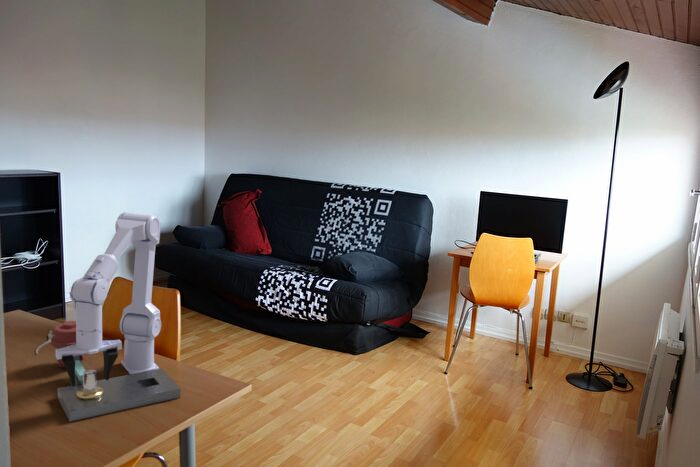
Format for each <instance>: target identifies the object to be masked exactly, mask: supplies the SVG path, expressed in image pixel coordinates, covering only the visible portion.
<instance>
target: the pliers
mask: <svg viewBox="0 0 700 467" xmlns="http://www.w3.org/2000/svg"><path fill="white" fill-rule="evenodd" d="M53 336H54V332H53V331H52V330H51V329H50V330H49V332H48V333H47V337H48V339H47V340H46V341H44V342H43V343H42V344H40V345H39V346H37V348H36V349H35V351H34V352H35V355H36V356H39V350H40V349H41V348H43V347H45V346H47V345H49V344H51V338H52V337H53Z"/></svg>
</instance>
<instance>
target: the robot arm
mask: <svg viewBox="0 0 700 467" xmlns="http://www.w3.org/2000/svg"><path fill="white" fill-rule="evenodd" d="M114 227H115V233H114V234H113V237H112V238H111V240H110V242H109V244H108V246H107V248H106V249H105V251H104V253H103V254H99V255H97V256H96V258H95V259H94V260H93V261H92V263H91V265H90V267H89V268H88V269H87V271H86V272H85V273H84V274H83V275H84V276H82V277H80V278H78V279H76V280H75V281H74V282H73V283H72V285H71V287H70V292H69V298H70V301H72V308H73V310H75V321H76V344H75V345H71V346H68V347H64V348H60V349H57V348H56V349H55V358H56V359H57V360H59V359H61V360H62V361H63V363H64V365H65V367H64V368H65V369H66V372H67V376H68V379H69V383H70V386H75V361H74V358H73V356H77V355H83V354H85V355H93V354H98V353H101V352H102V353H103V354H102V355H103V356H102V357H103V378H104V379H105V380H109V378H110V376H111V372H112V369H113V366H114V364H115V362H116V360H117V358H118V357H119V352H118V351H120V350H122V349H123V348H124V349H123V351H124V352H123V353H124V356H123V360H121V361H120V364H121V365H122V366H123V367H124V369H125V370H126V371H127V372H128V375H130V374H135V373H141V372H146V371H151V370H157V369H160V366H158V364H156V363H155V338H156V337H158V336H159V334H160V332H161V329H162V321H161V311H160V309H159V308H157V306H156V305H154V304H153V303H152V296H153V295H152V294H153V282H154V268H155V255H156V246H157V245H158V244H160V239H161V222H160V220H159V218H158V216H156V215H155V214H152V215H149V214H140V213H129V212H124V211H123V212H121V213H119V215H118V217H117V220H116V221H115V226H114ZM131 244H132V245H133V246H134V247H135V253H134V266H133V267H134V268H133V279H132V280H133V281H132V282H133V283H132V293H131V295H132V296H131V303H130V304H128V305H127V306H125V307H124V308H123V309H122V315H121V318H120V319H119V320H120V321H119V330H120V333H121V334H122V335H124V337H123V338H124V344H123V343H122V340H120V339H113V340H103V303H104V302H105V300H106V299H107V297H108V292H109V289H110V282H111V281H112V279H113V277H114V275H115V274H116V272H117V271H118V269H119V262H118V261H119V260H120V258H121V257H122V256H123V254H124V253H125V252H126V251H127V249H128V248H129V247H130V245H131ZM122 344H123V345H124V346H123V345H122ZM122 346H123V347H122ZM57 360H56V361H57Z"/></svg>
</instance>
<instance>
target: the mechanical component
mask: <svg viewBox="0 0 700 467" xmlns="http://www.w3.org/2000/svg"><path fill="white" fill-rule="evenodd" d="M53 335H54V336H53V337H52V338H51V342H50V345H51V346H52V347H53V348H56V349H60V348H64V347H68V346H71V345H75V344H76V320H67V321H64V322H63V323H59V324H56V325H54V328H53ZM85 360H86V354H83V355H80V360H79V361H80V362H81V363H82V362H84V361H85ZM56 361H57V363H58V364H57V365H58V367H59V368H66V367H65V365H64V363H63V361H62V360H61V359H59V360H56Z"/></svg>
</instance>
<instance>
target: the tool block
mask: <svg viewBox="0 0 700 467" xmlns="http://www.w3.org/2000/svg"><path fill="white" fill-rule="evenodd" d="M97 386H98V387H101V388H103V395H102V396H100V397H98V398H96V399H91V400H82V399H79V398H77V391H78V390H79V389H81V388H83V380H82V381H79V379H78V377H77V376H76V374H75V386H71V385H67V386H61V387H57V389H56V390H57V393H56V394H57V399H58V402H59V404H60V405H61V408H62V409H63V411H64V413H65V415H66V418H67V419H68V421H69V423H70V422H71V423H72V422H76V421H81V420H85V419H90V418H94V417H99V416H103V415H107V414H111V413H117V412H122V411H126V410H131V409H133V408H139V407H143V406H149V405H153V404H158V403H162V402H167V401H172V400H176V399H180V398H181V387H180V386H179V385H178V384H177V383H176V381H174V380H173V379H172V377H170V375H169V374H168V373H166V371H165V370H164V369H163V368H159V369H157V370H151V371H146V372H141V373H135V374H126V375H120V376H116V377H115V376H114V377H109V380H105V378H104V379H99V380H97Z"/></svg>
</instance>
